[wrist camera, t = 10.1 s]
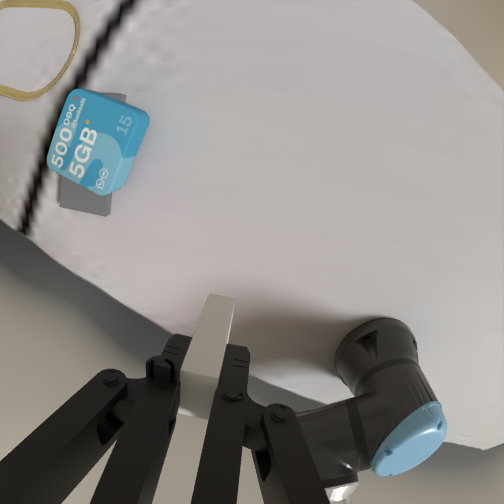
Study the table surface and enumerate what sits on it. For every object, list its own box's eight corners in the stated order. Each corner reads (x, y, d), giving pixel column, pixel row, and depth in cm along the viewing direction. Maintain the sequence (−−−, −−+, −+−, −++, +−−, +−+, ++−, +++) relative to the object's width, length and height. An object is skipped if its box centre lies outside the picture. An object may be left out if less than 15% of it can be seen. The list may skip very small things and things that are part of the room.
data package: (107, 200, 37) (43, 166, 35) (121, 193, 41) (61, 162, 40) (141, 113, 33) (71, 85, 31) (154, 114, 37) (87, 88, 36)
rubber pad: (110, 213, 44) (105, 216, 43) (64, 204, 44) (59, 206, 42) (126, 95, 37) (121, 94, 36) (76, 93, 37) (71, 92, 36)
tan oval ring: (56, 111, 39) (51, 111, 37) (-40, 81, 34) (-44, 81, 33) (103, 6, 32) (98, 3, 31) (-9, 2, 28) (-13, 1, 26)
